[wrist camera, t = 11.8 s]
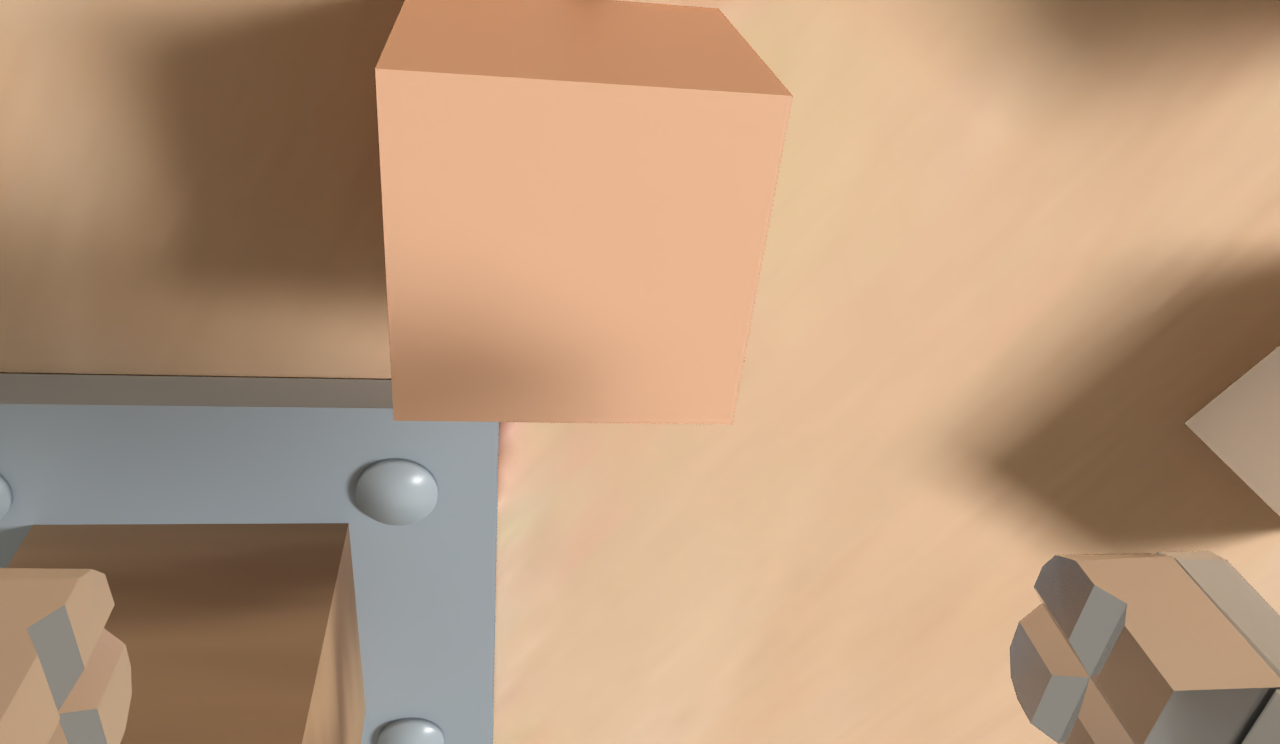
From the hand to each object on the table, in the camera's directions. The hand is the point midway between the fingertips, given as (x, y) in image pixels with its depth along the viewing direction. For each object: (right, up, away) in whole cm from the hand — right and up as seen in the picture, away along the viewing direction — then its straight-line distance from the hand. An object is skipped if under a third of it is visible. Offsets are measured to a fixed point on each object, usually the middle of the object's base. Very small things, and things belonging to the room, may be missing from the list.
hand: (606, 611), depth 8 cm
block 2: (-1, +6, +8) cm, 11 cm away
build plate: (-9, -3, +13) cm, 16 cm away
